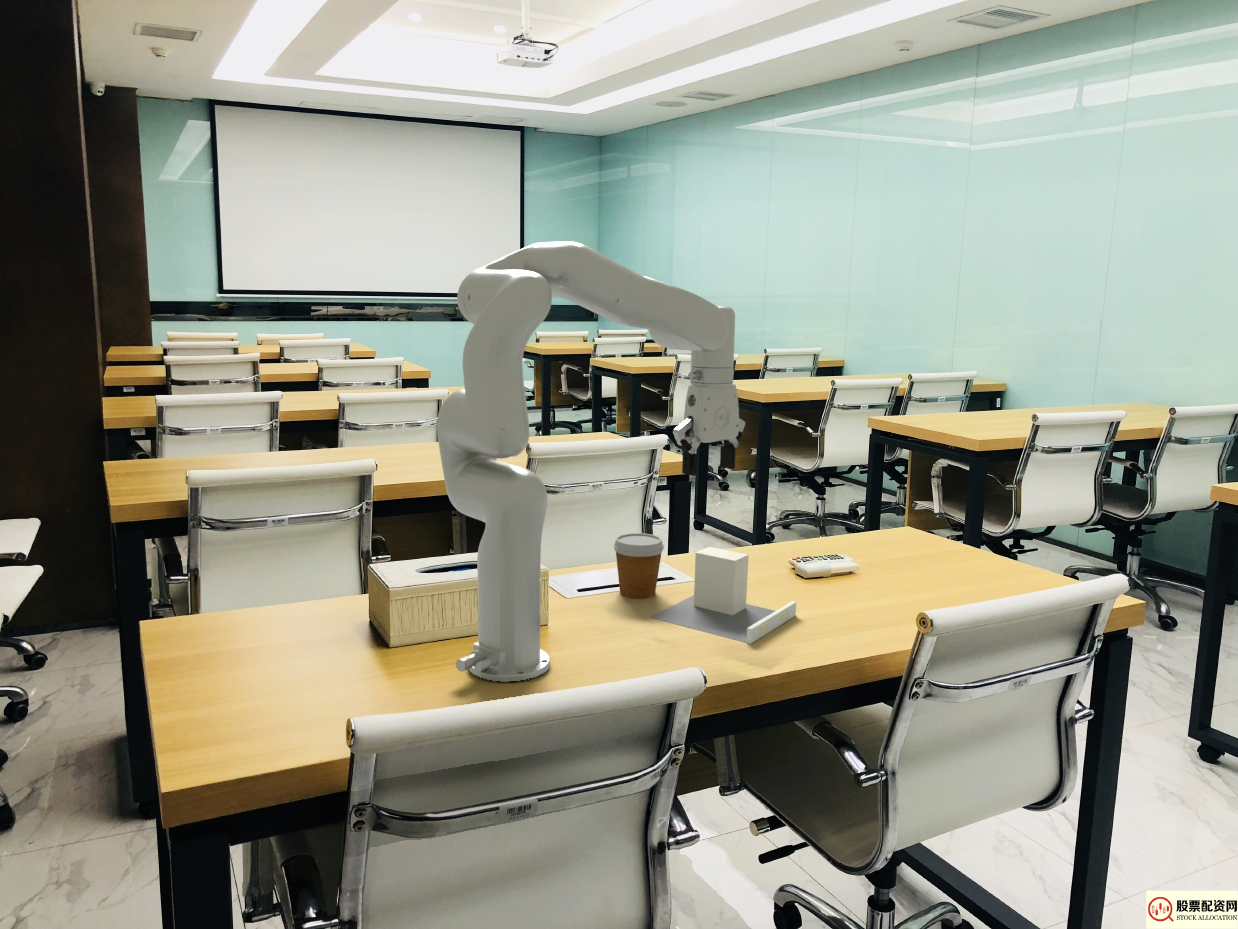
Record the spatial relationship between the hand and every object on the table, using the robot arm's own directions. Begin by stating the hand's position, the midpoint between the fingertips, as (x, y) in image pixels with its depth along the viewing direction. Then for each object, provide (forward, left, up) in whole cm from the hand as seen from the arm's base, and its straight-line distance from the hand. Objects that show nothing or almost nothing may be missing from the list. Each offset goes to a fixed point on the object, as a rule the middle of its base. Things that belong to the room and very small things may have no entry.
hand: (708, 471), depth 167 cm
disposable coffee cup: (-5, +12, -26) cm, 29 cm away
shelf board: (-6, -7, -26) cm, 27 cm away
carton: (-2, -4, -24) cm, 25 cm away
